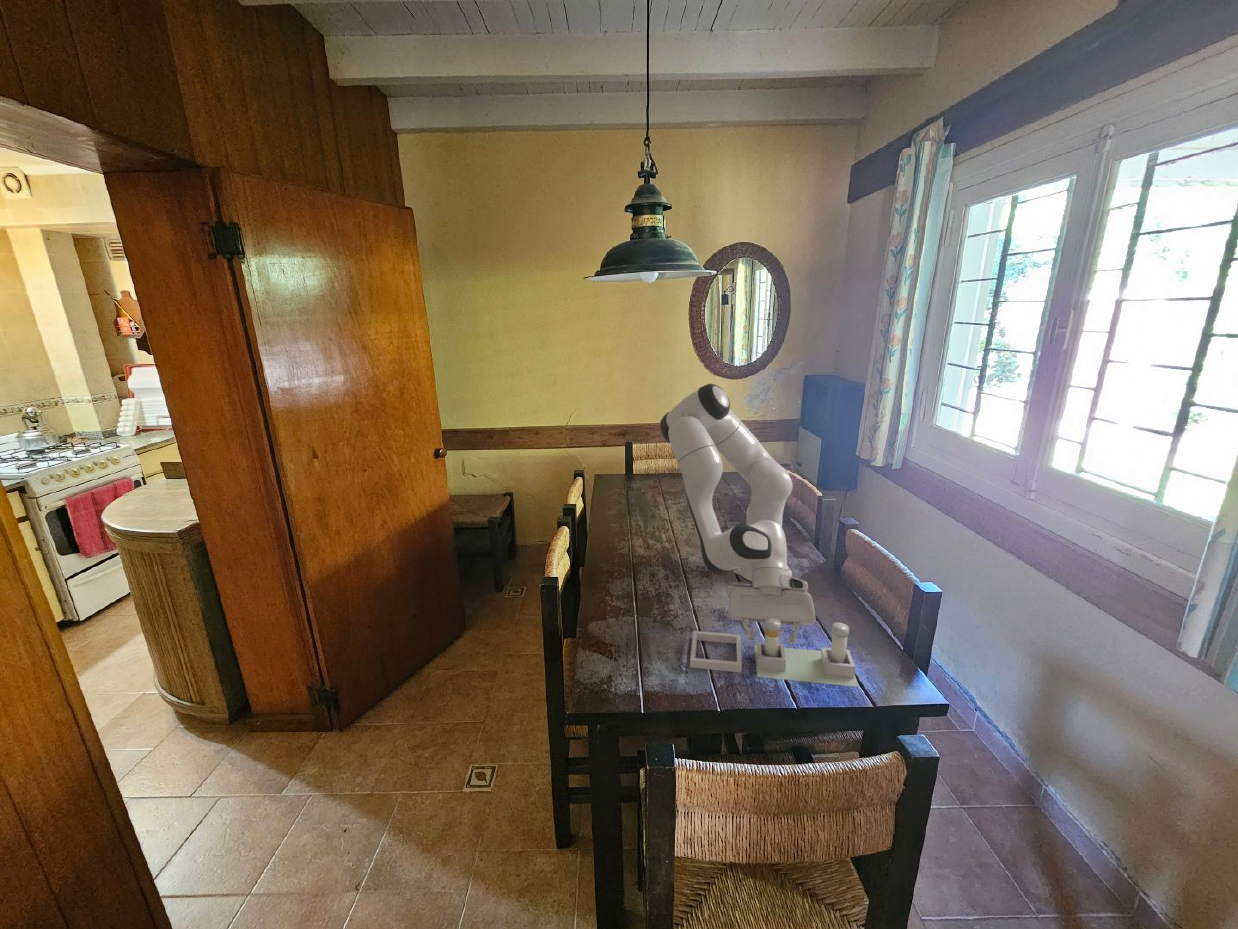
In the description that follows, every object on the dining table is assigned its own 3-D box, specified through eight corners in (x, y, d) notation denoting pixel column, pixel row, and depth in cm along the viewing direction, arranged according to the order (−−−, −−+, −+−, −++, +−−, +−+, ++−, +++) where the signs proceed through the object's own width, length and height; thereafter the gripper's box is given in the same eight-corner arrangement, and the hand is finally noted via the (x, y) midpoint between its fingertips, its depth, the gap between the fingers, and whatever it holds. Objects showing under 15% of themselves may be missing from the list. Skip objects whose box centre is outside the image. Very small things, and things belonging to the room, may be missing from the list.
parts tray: (693, 640, 133) (693, 630, 132) (740, 645, 130) (740, 634, 129) (690, 671, 121) (690, 660, 121) (741, 676, 119) (741, 665, 118)
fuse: (827, 662, 121) (830, 622, 118) (843, 663, 120) (847, 623, 117) (830, 672, 118) (833, 631, 115) (846, 673, 117) (850, 632, 114)
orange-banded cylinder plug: (762, 656, 124) (764, 616, 121) (777, 657, 123) (779, 618, 120) (763, 665, 121) (765, 625, 118) (779, 667, 120) (781, 626, 117)
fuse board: (754, 648, 129) (754, 634, 128) (846, 656, 124) (848, 642, 123) (757, 680, 117) (757, 665, 116) (858, 690, 113) (860, 675, 112)
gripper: (727, 577, 126) (726, 635, 119) (814, 583, 122) (818, 642, 115) (727, 584, 131) (726, 640, 125) (810, 590, 127) (814, 647, 120)
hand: (771, 641), depth 120 cm, fingers open, 8 cm apart
